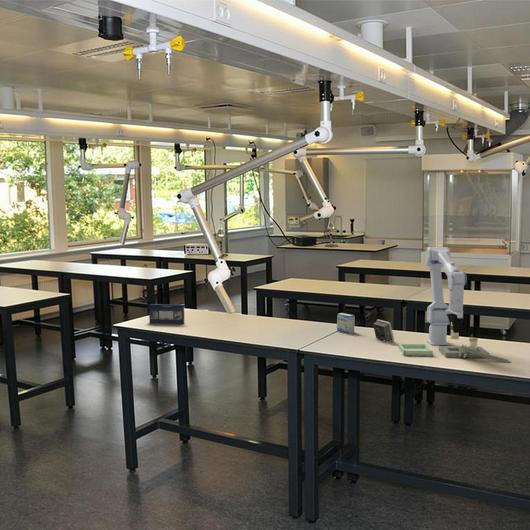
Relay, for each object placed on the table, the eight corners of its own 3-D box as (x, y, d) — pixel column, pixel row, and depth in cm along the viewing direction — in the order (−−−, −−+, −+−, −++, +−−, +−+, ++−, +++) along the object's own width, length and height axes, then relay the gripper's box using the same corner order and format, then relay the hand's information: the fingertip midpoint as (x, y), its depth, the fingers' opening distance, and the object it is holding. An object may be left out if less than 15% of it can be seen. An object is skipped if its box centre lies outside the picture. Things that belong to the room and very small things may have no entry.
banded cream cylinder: (449, 337, 258) (450, 321, 258) (457, 337, 258) (458, 321, 257) (451, 339, 255) (452, 322, 254) (459, 339, 255) (460, 322, 254)
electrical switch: (394, 341, 279) (393, 322, 278) (385, 343, 277) (384, 324, 276) (381, 337, 288) (380, 318, 286) (372, 339, 285) (371, 320, 284)
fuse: (467, 353, 259) (468, 337, 258) (475, 353, 259) (476, 337, 258) (470, 355, 255) (470, 339, 255) (478, 355, 255) (478, 339, 254)
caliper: (458, 358, 251) (459, 344, 250) (458, 358, 252) (459, 343, 251) (511, 363, 244) (512, 348, 243) (511, 362, 245) (512, 347, 245)
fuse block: (438, 350, 263) (438, 346, 263) (480, 351, 262) (480, 346, 262) (445, 357, 252) (445, 352, 252) (489, 357, 251) (489, 353, 251)
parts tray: (398, 348, 266) (398, 343, 266) (425, 349, 266) (426, 344, 265) (403, 355, 254) (403, 350, 254) (432, 356, 254) (432, 351, 253)
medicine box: (336, 330, 301) (336, 313, 300) (342, 329, 304) (342, 312, 303) (348, 333, 295) (349, 316, 294) (354, 332, 298) (355, 314, 297)
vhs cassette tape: (149, 323, 316) (148, 304, 315) (150, 322, 319) (150, 303, 318) (183, 324, 314) (183, 305, 313) (184, 323, 317) (184, 304, 316)
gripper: (442, 297, 262) (440, 327, 264) (451, 302, 248) (449, 335, 249) (458, 297, 262) (457, 327, 263) (468, 303, 247) (467, 335, 249)
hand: (454, 331), depth 256 cm, fingers closed on banded cream cylinder, 3 cm apart
